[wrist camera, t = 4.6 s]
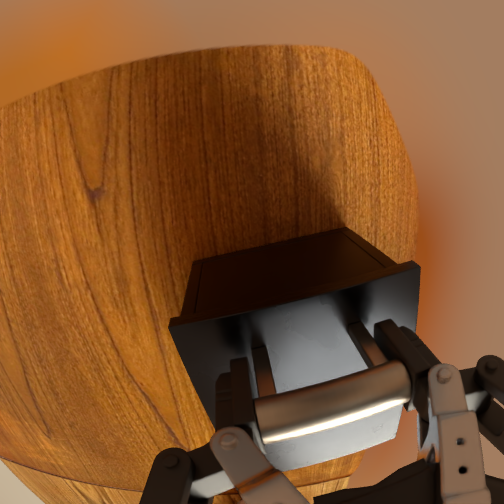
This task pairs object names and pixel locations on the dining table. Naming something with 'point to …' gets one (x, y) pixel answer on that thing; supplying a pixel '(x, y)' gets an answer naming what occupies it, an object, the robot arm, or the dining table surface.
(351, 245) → the bin
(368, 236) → the dining table surface
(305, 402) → the bin lid
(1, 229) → the dining table surface
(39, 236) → the dining table surface
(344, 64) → the dining table surface
